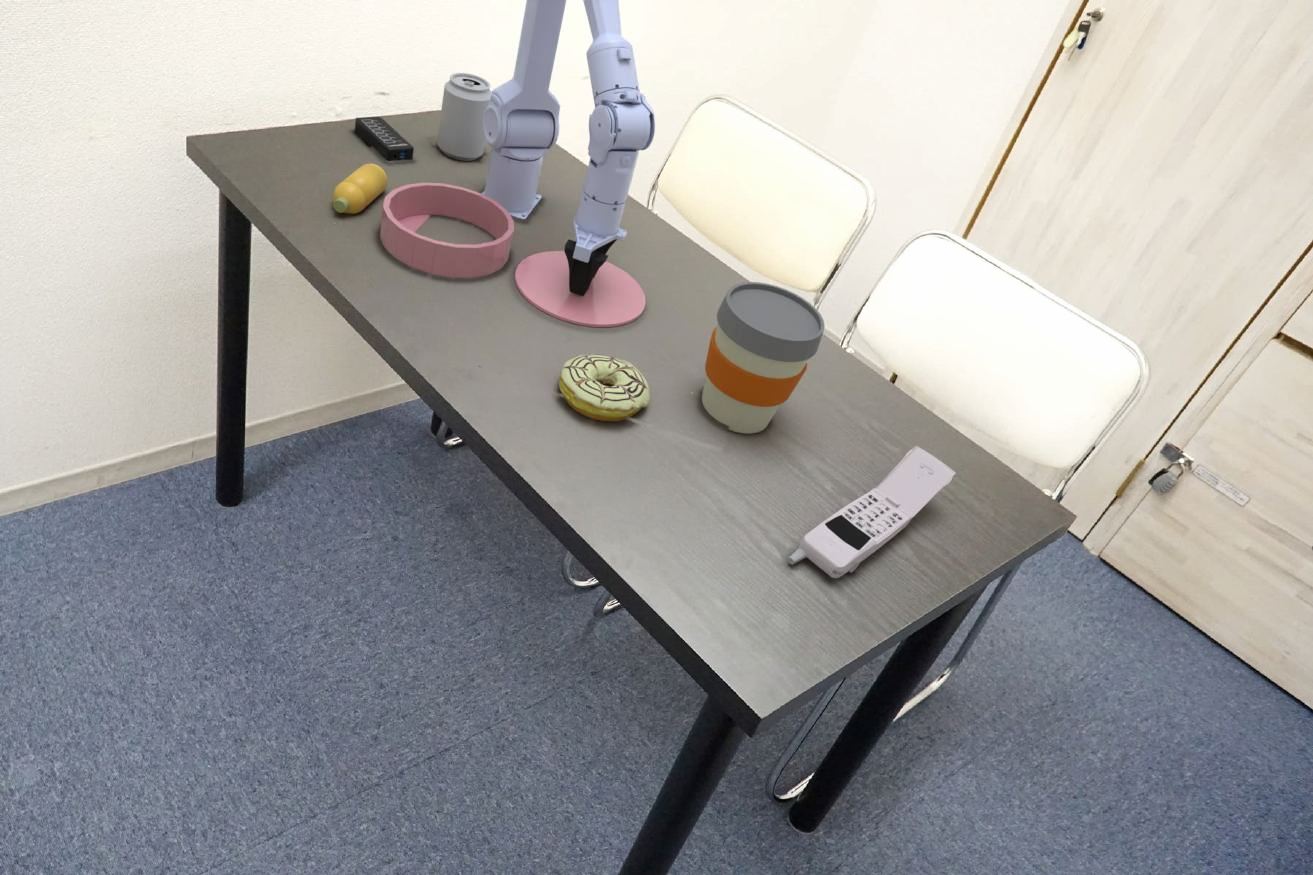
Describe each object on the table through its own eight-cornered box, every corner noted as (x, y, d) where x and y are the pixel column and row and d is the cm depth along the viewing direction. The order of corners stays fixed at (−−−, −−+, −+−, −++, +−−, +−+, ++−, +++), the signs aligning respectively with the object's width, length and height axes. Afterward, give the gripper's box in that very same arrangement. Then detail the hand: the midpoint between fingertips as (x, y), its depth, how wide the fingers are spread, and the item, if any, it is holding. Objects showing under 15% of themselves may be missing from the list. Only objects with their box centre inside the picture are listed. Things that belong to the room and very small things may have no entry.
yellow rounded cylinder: (360, 180, 138) (366, 153, 135) (388, 194, 138) (395, 167, 136) (321, 213, 128) (327, 185, 126) (351, 227, 129) (358, 200, 126)
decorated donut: (661, 414, 114) (670, 390, 112) (592, 437, 108) (600, 412, 105) (608, 365, 119) (616, 340, 117) (539, 383, 113) (546, 358, 110)
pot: (410, 203, 138) (414, 170, 135) (523, 241, 138) (529, 209, 135) (358, 253, 124) (361, 218, 121) (483, 295, 124) (490, 261, 121)
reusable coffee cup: (717, 448, 112) (758, 345, 103) (670, 382, 120) (704, 281, 111) (801, 437, 119) (847, 339, 109) (751, 376, 126) (790, 279, 117)
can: (488, 150, 158) (499, 80, 151) (476, 167, 152) (488, 94, 145) (443, 137, 157) (453, 65, 150) (430, 153, 151) (439, 79, 144)
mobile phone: (959, 472, 111) (846, 556, 94) (937, 508, 115) (824, 595, 98) (917, 442, 114) (799, 519, 97) (897, 479, 117) (780, 559, 100)
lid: (536, 244, 138) (542, 213, 135) (654, 284, 138) (663, 255, 135) (495, 302, 124) (501, 269, 121) (628, 347, 124) (637, 315, 121)
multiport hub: (379, 130, 153) (380, 116, 152) (413, 162, 148) (415, 148, 146) (353, 131, 150) (354, 117, 149) (387, 164, 145) (388, 149, 144)
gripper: (622, 226, 116) (597, 318, 124) (645, 183, 128) (621, 270, 136) (567, 207, 116) (546, 301, 124) (595, 166, 128) (574, 254, 136)
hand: (582, 284), depth 130 cm, fingers open, 5 cm apart
